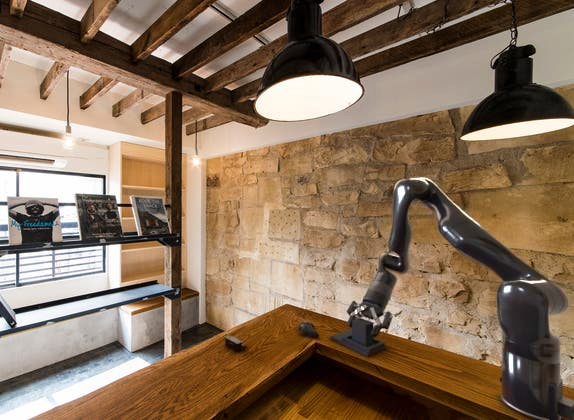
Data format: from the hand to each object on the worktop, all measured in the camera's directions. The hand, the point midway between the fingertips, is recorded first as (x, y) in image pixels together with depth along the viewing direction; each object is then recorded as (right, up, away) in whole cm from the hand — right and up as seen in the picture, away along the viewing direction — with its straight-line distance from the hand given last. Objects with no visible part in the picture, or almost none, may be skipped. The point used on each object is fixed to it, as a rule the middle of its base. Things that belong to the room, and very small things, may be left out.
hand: (360, 330), depth 96 cm
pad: (0, -6, +2) cm, 6 cm away
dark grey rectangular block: (+1, -5, +1) cm, 5 cm away
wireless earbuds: (-47, -6, -1) cm, 47 cm away
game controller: (-15, -6, +11) cm, 20 cm away
